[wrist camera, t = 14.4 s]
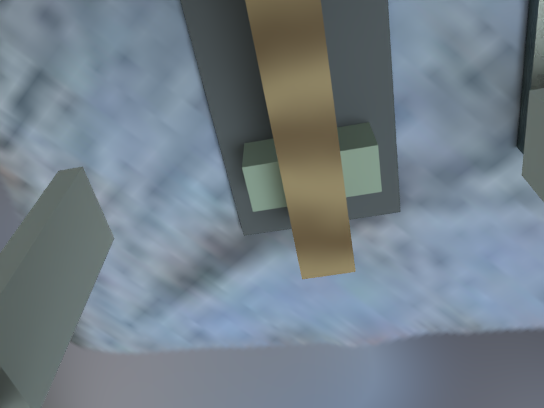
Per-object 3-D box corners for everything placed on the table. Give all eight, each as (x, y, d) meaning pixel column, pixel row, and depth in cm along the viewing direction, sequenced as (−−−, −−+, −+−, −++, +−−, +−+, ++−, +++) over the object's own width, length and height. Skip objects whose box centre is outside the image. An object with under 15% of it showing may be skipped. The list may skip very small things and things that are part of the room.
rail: (172, -395, 22) (154, -442, 19) (261, -420, 22) (260, -473, 19) (299, 246, 42) (302, 279, 38) (348, 239, 41) (355, 271, 38)
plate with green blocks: (88, -355, 26) (53, -399, 22) (358, -431, 25) (375, -491, 21) (244, 229, 47) (241, 264, 43) (398, 205, 45) (411, 239, 41)
